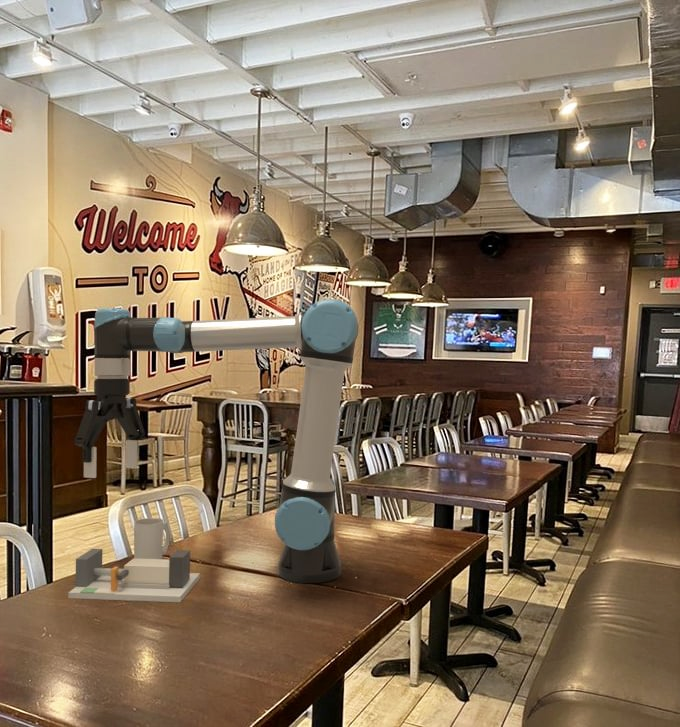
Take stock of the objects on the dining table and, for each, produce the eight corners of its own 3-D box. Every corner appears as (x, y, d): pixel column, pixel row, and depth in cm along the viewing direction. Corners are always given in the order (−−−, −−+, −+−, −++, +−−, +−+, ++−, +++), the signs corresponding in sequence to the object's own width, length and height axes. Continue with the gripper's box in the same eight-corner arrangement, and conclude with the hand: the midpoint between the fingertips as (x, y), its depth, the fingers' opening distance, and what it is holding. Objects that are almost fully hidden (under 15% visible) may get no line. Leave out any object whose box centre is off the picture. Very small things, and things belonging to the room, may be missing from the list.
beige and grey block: (189, 578, 144) (190, 550, 144) (176, 593, 134) (177, 562, 135) (133, 576, 144) (133, 548, 144) (116, 591, 135) (117, 560, 135)
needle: (118, 587, 137) (118, 566, 137) (114, 590, 135) (114, 569, 135) (114, 587, 137) (114, 566, 137) (110, 590, 135) (111, 569, 135)
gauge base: (199, 578, 148) (200, 547, 148) (180, 602, 133) (180, 567, 133) (98, 575, 150) (98, 544, 150) (67, 598, 135) (68, 564, 135)
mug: (146, 577, 149) (147, 526, 149) (127, 572, 152) (128, 521, 152) (178, 566, 157) (179, 517, 157) (159, 561, 161) (160, 514, 161)
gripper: (134, 376, 156) (134, 463, 156) (56, 378, 132) (56, 480, 132) (160, 377, 153) (159, 465, 153) (85, 378, 130) (84, 483, 130)
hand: (111, 472), depth 143 cm, fingers open, 13 cm apart
